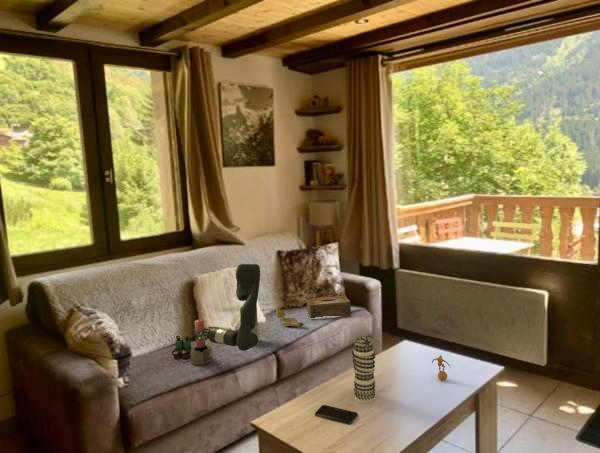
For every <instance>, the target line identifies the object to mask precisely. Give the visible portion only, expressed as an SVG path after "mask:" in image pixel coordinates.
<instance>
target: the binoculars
mask: <svg viewBox="0 0 600 453" xmlns="http://www.w3.org/2000/svg"><path fill="white" fill-rule="evenodd" d="M175 339H176V340H175V341H174V343H175V344H174V346H175V347H174V348H173V350H172V351H171V356H173V359H174V360H179V359H181V357H182V359H183V360H187V359H188V358H190V356H191V352H190V350H191V349H192V347H193V346H192V344H191V340H190V339H189V335H186V336H184V339H182V338H181V336H180V335H177V336H175ZM183 351H184V352H183ZM176 352H177V353H176Z"/></svg>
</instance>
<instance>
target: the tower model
mask: <svg viewBox="0 0 600 453" xmlns="http://www.w3.org/2000/svg"><path fill="white" fill-rule="evenodd" d="M352 343H353V350H352V351H351V354H352V357H351V358H352V363H353V365H352V367H353V372H354V381H353V384H354V385H353V387H354V388H353V391H354V400H356V401H357V402H360V403H364V404H369V403H372V402H374V401H375V400H376V395H377V394H376V381H375V374H374V373H375V370H376V369H375V367H376V365H375V364H376V361H375V359H376V356H375V355H376V352H375V351H374V350H375V349H374V340H373V339H371V338H370V337H369V336H366V335H360V336H357V337H356V338H355V339H354V340H353V341H352Z"/></svg>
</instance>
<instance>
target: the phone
mask: <svg viewBox="0 0 600 453" xmlns="http://www.w3.org/2000/svg"><path fill="white" fill-rule="evenodd" d="M314 415H315V417H318V418H320V419H325V420H329V421H332V422H336V423H342V424H345V425H352V424H353V423H354V421H355V420H356V419H357V418H358V416H359V414H358V412H356V411H352V410H348V409H343V408H339V407H335V406H331V405H327V404H323V405H321V406H320V407H319V408H318V409H317V410H316V411H315V413H314Z"/></svg>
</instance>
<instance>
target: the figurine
mask: <svg viewBox="0 0 600 453" xmlns="http://www.w3.org/2000/svg"><path fill="white" fill-rule="evenodd" d="M434 361H437V366H438V370H439V372H438V374H437V378H438V380H439V381H441V382H444V381H447V379H448V374H447V372H446V371H444V370H445V368H446V366H445V364H446V365H448V366H449V367H450V368H452V366H451V364H449V362H448V361H446V360H444V359H443V356H442V354H440V355H439V356H438V357H436V358H433V359H432V361H431V364H433V363H434ZM443 362H444V363H445V364H444V363H443ZM441 367H442V370H441Z"/></svg>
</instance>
